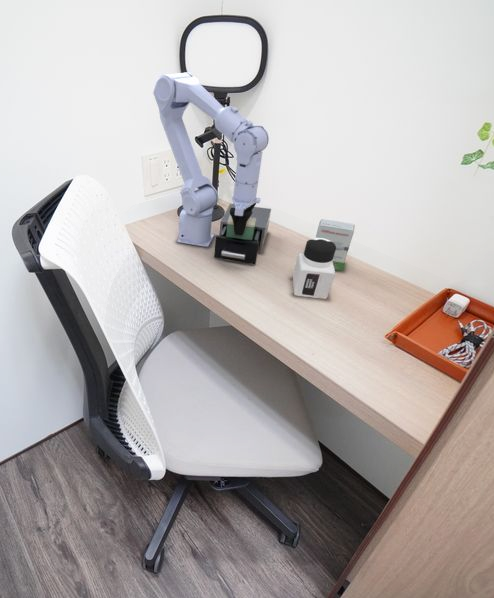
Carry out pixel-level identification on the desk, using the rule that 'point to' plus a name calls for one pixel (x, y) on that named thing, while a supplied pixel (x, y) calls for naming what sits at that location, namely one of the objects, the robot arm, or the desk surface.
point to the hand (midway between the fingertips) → (240, 230)
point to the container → (315, 269)
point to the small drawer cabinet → (261, 222)
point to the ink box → (337, 239)
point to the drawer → (237, 247)
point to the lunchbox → (247, 232)
